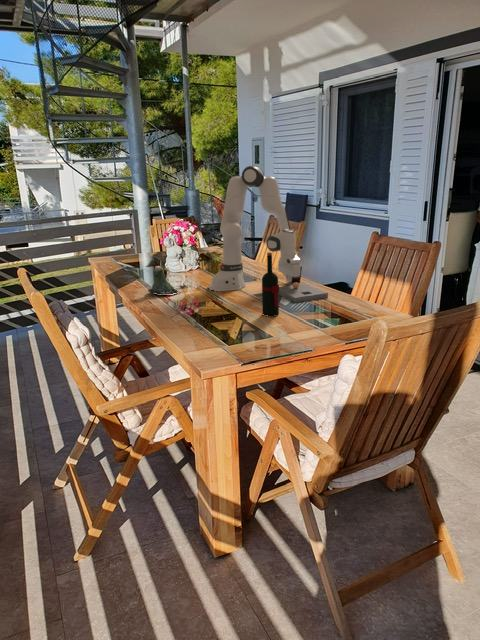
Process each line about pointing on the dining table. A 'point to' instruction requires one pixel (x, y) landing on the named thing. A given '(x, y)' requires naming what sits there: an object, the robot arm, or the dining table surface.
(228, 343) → the dining table surface
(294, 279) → the coffee mug
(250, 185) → the robot arm
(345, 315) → the dining table surface
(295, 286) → the ball
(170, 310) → the dining table surface
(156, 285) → the tree stump
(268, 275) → the wine bottle
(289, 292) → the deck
